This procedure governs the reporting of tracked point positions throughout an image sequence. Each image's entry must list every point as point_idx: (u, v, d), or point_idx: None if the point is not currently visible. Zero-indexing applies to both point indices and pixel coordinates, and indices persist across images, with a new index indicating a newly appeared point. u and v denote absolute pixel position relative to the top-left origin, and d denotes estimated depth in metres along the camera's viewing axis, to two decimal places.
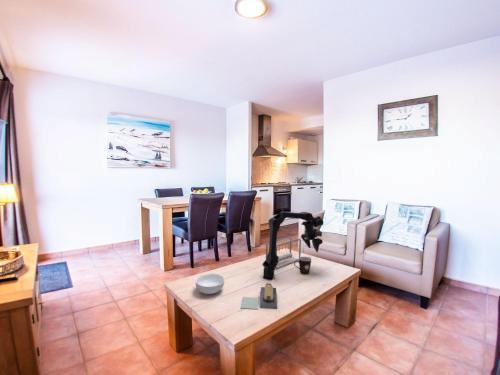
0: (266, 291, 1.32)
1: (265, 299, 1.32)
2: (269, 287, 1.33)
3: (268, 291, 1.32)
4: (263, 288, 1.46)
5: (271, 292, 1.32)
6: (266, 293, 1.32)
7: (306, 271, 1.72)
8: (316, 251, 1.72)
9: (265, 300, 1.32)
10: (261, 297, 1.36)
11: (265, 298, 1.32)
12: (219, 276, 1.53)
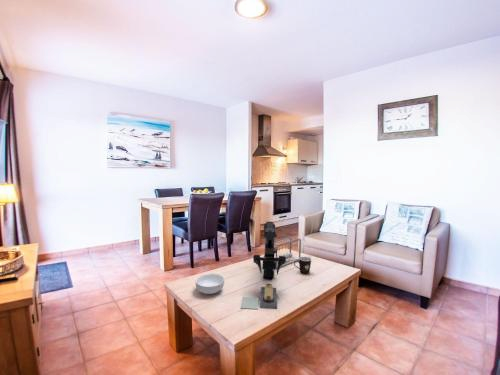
0: (266, 291, 1.32)
1: (265, 299, 1.32)
2: (269, 287, 1.33)
3: (268, 291, 1.32)
4: (263, 288, 1.46)
5: (271, 292, 1.32)
6: (266, 293, 1.32)
7: (306, 271, 1.72)
8: (260, 272, 1.42)
9: (265, 300, 1.32)
10: (261, 297, 1.36)
11: (265, 298, 1.32)
12: (219, 276, 1.53)
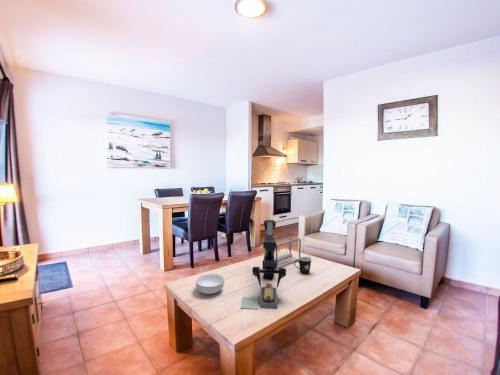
0: (266, 291, 1.32)
1: (265, 299, 1.32)
2: (269, 287, 1.33)
3: (268, 291, 1.32)
4: (263, 288, 1.46)
5: (271, 292, 1.32)
6: (266, 293, 1.32)
7: (306, 271, 1.72)
8: None
9: (265, 300, 1.32)
10: (261, 297, 1.36)
11: (265, 298, 1.32)
12: (219, 276, 1.53)
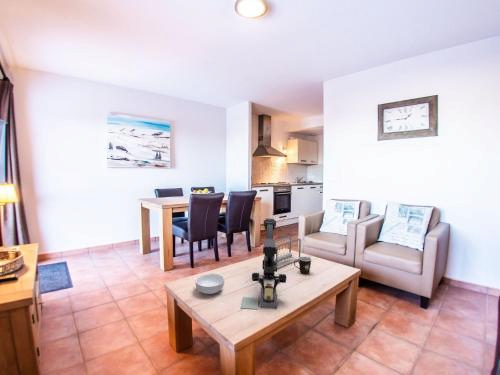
0: (266, 291, 1.32)
1: (265, 299, 1.32)
2: (269, 287, 1.33)
3: (268, 291, 1.32)
4: None
5: (271, 292, 1.32)
6: (266, 293, 1.32)
7: (306, 271, 1.72)
8: (263, 292, 1.33)
9: (265, 300, 1.32)
10: (261, 297, 1.36)
11: (265, 298, 1.32)
12: (219, 276, 1.53)
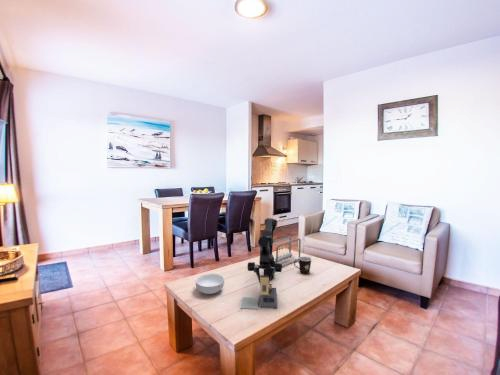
0: (262, 280, 1.32)
1: (261, 288, 1.32)
2: (265, 276, 1.32)
3: (264, 280, 1.32)
4: None
5: (267, 281, 1.32)
6: (262, 282, 1.32)
7: (306, 271, 1.72)
8: (259, 281, 1.33)
9: (261, 289, 1.32)
10: (261, 297, 1.36)
11: (261, 287, 1.32)
12: (219, 276, 1.53)
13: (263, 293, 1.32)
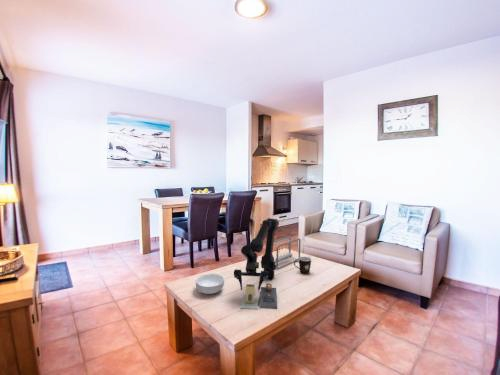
0: (247, 289, 1.33)
1: (246, 297, 1.33)
2: (250, 285, 1.33)
3: (249, 289, 1.33)
4: (263, 288, 1.46)
5: (252, 290, 1.33)
6: (248, 291, 1.33)
7: (306, 271, 1.72)
8: None
9: (246, 298, 1.33)
10: (261, 297, 1.36)
11: (246, 296, 1.33)
12: (219, 276, 1.53)
13: (249, 302, 1.33)
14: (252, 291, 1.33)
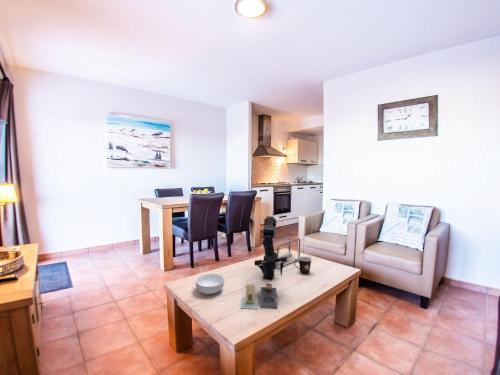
0: (247, 289, 1.33)
1: (246, 297, 1.33)
2: (250, 285, 1.33)
3: (249, 289, 1.33)
4: (263, 288, 1.46)
5: (252, 290, 1.33)
6: (248, 291, 1.33)
7: (306, 271, 1.72)
8: (264, 276, 1.43)
9: (246, 298, 1.33)
10: (261, 297, 1.36)
11: (246, 296, 1.33)
12: (219, 276, 1.53)
13: (249, 302, 1.33)
14: (252, 291, 1.33)
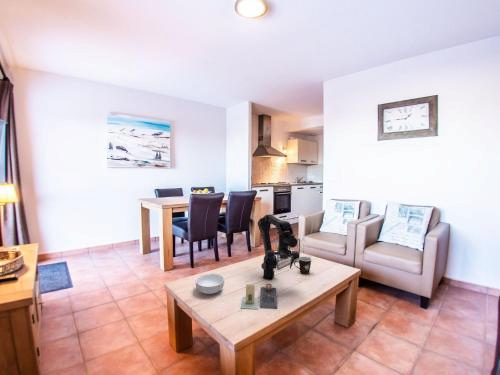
0: (247, 289, 1.33)
1: (246, 297, 1.33)
2: (250, 285, 1.33)
3: (249, 289, 1.33)
4: (263, 288, 1.46)
5: (252, 290, 1.33)
6: (248, 291, 1.33)
7: (306, 271, 1.72)
8: (274, 265, 1.51)
9: (246, 298, 1.33)
10: (261, 297, 1.36)
11: (246, 296, 1.33)
12: (219, 276, 1.53)
13: (249, 302, 1.33)
14: (252, 291, 1.33)
